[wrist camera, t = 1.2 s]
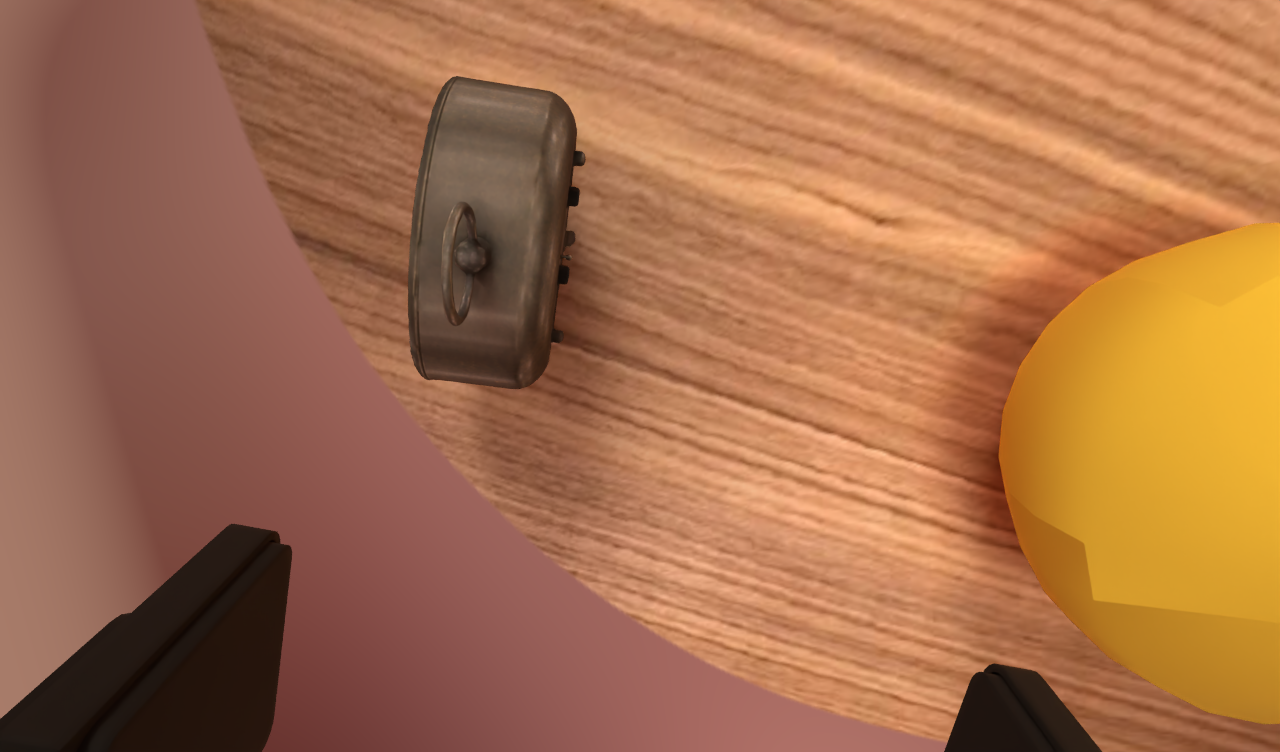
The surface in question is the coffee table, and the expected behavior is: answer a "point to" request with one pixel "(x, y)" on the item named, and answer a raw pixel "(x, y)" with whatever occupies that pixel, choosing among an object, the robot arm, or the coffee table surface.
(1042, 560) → the vase
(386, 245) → the coffee table surface
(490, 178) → the alarm clock
